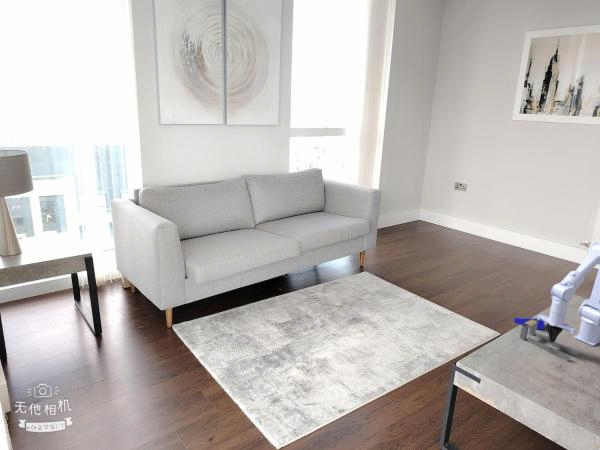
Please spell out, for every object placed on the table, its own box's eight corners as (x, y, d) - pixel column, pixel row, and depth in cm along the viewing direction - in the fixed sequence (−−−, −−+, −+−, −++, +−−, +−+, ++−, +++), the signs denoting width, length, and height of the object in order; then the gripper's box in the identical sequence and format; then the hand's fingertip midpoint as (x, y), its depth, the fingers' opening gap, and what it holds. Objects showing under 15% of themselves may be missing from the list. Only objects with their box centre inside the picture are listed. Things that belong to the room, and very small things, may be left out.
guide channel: (536, 337, 187) (537, 333, 187) (577, 356, 174) (578, 351, 173) (527, 342, 183) (527, 338, 183) (568, 361, 169) (569, 357, 169)
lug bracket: (530, 334, 190) (533, 318, 188) (534, 336, 188) (538, 320, 186) (519, 339, 185) (522, 323, 183) (524, 341, 183) (527, 325, 181)
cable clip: (544, 328, 191) (544, 327, 196) (543, 318, 192) (543, 317, 197) (515, 328, 197) (515, 327, 202) (514, 318, 198) (514, 317, 203)
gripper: (535, 307, 178) (530, 336, 181) (572, 321, 166) (565, 352, 170) (544, 303, 182) (538, 332, 185) (580, 317, 170) (573, 347, 174)
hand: (552, 341), depth 178 cm, fingers closed
